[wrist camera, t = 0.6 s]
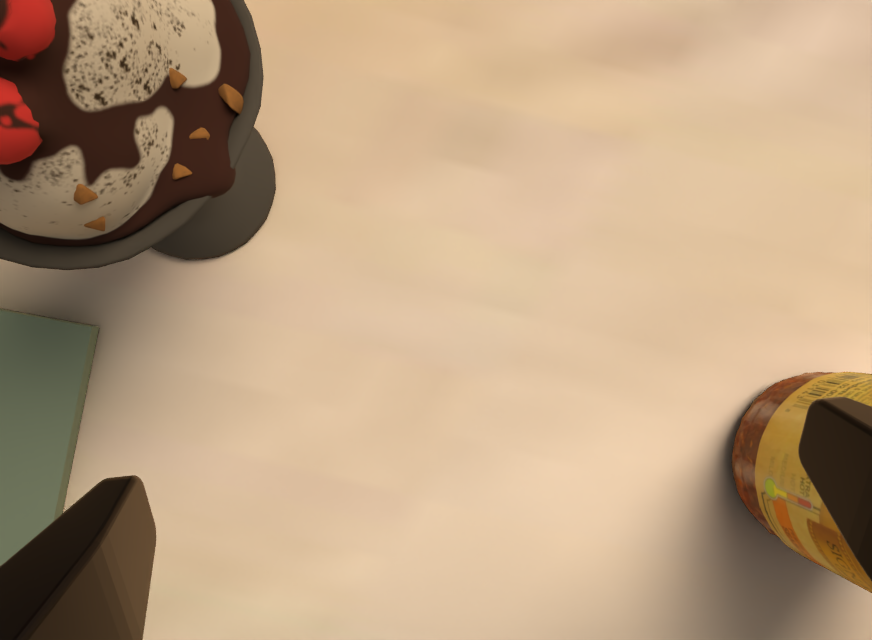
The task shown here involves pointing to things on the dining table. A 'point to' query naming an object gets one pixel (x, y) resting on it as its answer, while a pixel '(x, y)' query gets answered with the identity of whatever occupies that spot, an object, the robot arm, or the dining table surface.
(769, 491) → the sauce bottle
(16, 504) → the rubber mat
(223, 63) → the sundae
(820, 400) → the robot arm
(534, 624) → the dining table surface
